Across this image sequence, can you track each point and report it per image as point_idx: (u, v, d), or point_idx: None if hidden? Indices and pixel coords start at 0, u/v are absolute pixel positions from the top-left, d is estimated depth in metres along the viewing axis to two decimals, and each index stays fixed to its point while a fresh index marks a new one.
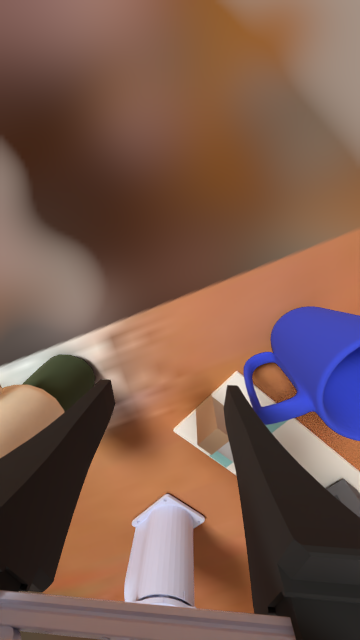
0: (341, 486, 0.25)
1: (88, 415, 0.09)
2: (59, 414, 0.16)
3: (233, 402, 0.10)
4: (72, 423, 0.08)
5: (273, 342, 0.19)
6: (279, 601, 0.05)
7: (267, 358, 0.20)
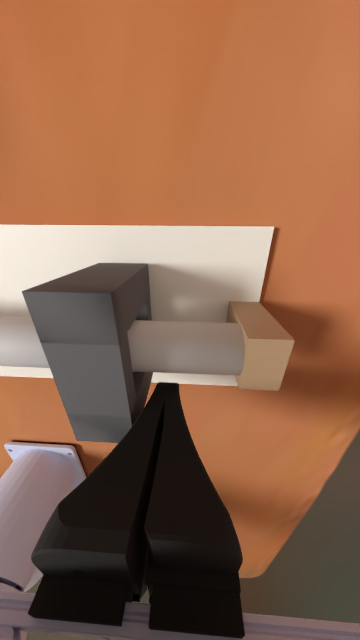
0: None
1: (160, 419, 0.09)
2: None
3: (165, 399, 0.10)
4: (153, 427, 0.08)
5: None
6: None
7: None
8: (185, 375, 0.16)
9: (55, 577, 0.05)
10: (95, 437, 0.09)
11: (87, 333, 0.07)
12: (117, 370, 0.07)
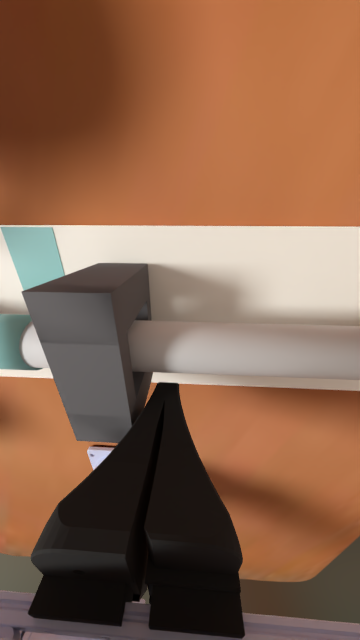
0: None
1: (160, 419, 0.09)
2: None
3: (165, 399, 0.10)
4: (153, 427, 0.08)
5: None
6: None
7: None
8: (303, 380, 0.15)
9: (55, 577, 0.05)
10: (95, 437, 0.09)
11: (87, 333, 0.07)
12: (117, 370, 0.07)
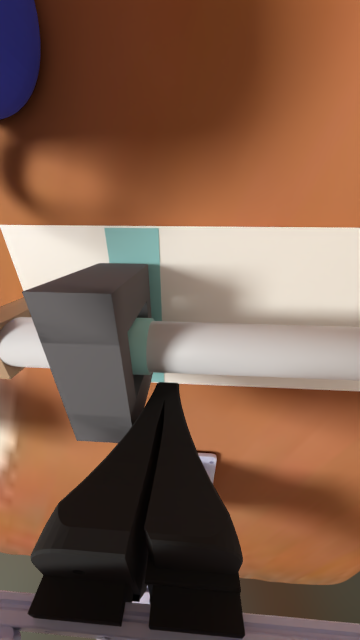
0: None
1: (160, 419, 0.09)
2: None
3: (165, 399, 0.10)
4: (153, 427, 0.08)
5: None
6: None
7: None
8: None
9: (55, 577, 0.05)
10: (95, 437, 0.09)
11: (87, 333, 0.07)
12: (117, 370, 0.08)
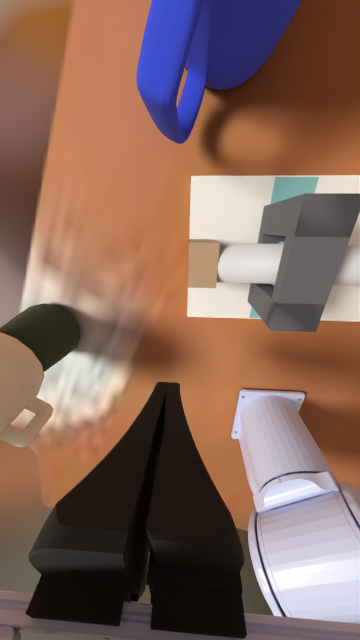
0: (264, 217, 0.15)
1: (159, 419, 0.09)
2: (7, 342, 0.14)
3: (165, 399, 0.10)
4: (152, 427, 0.08)
5: None
6: None
7: (192, 91, 0.11)
8: None
9: (53, 577, 0.05)
10: (287, 326, 0.13)
11: (332, 227, 0.10)
12: (337, 259, 0.11)
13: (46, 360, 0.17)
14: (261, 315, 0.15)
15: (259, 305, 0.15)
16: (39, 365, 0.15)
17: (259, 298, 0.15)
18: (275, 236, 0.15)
